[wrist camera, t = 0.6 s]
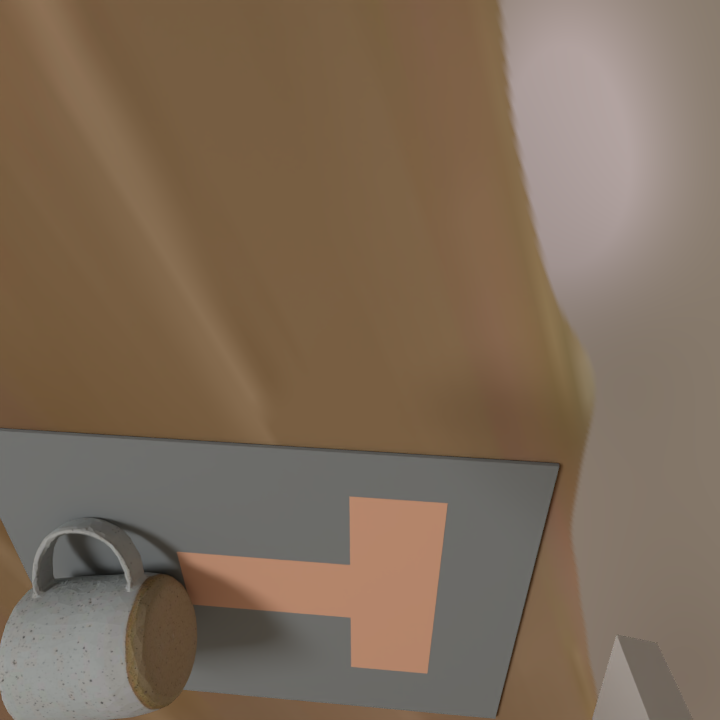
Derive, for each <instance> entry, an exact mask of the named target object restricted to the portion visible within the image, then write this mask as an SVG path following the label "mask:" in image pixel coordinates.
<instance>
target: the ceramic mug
mask: <svg viewBox="0 0 720 720" xmlns="http://www.w3.org/2000/svg"><path fill="white" fill-rule="evenodd" d="M69 533H72V534H74V533H75V534H83V535H88V536H91V537H94V538H96V539H98V540H100V541H101V542H104V543H105V544H106V545H108V546H109V547H110V548H111V549H112V551H113V552H114V553H115V555H116V556H117V557H118V559H119V562H120V564H121V566H122V568H123V570H124V572H125V574H119V575H97V576H80V577H67V578H54V575H53V552H54V547H55V544H56V542H57V540H58V538H59V537H60V536H62V535H66V534H69ZM32 584H33V588H32V589H30V590H29V591H28V592H27V593H26V594H25V595H24V596H23V597H22V599H21V600H20V601H19V602H18V604H17V605H16V606H15V608H14V609H13V611H12V613H11V615H10V617H9V619H8V621H7V623H6V626H5V630H4V633H3V636H2V640H1V644H0V691H1V696H2V700H3V702H4V705H5V707H6V709H7V711H8V712H9V714H10V715H11V716H12V718H13V719H14V720H109V719H118V718H129V717H135V716H139V715H143V714H147V713H150V712H153V711H156V710H158V709H161V708H163V707H165V706H168V705H169V704H170V703H172V702H173V701H174V700H175V699H176V698H177V697H178V696H179V694H180V693H181V692H182V690H183V689H184V687H185V685H186V683H187V681H188V679H189V676H190V674H191V671H192V668H193V664H194V660H195V655H196V648H197V623H196V616H195V610H194V607H193V604H192V601H191V599H190V596H189V594H188V592H187V591H186V589H185V588H184V587H183V585H182V584H181V583H180V582H178V581H177V580H176V579H175V578H174V577H172V576H169V575H166V574H159V573H150V572H144V570H143V564H142V560H141V556H140V554H139V552H138V550H137V549H136V548H135V545H134V544H133V542H132V541H131V538H130V537H129V536H128V535H127V534H126V533H125V532H124V531H123V530H121V529H120V528H119V527H118V526H116V525H114V524H112V523H109V522H107V521H105V520H102V519H97V518H80V519H75V520H71V521H68V522H67V523H65V524H63V525H61V526H60V527H58V528H57V529H55V530H54V531H52V532H51V533H50V534H49V535H48V536H46V537H45V538H44V539H43V541H42V542H41V544H40V546H39V548H38V550H37V552H36V555H35V558H34V562H33V569H32Z"/></svg>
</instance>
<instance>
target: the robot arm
mask: <svg viewBox="0 0 720 720" xmlns="http://www.w3.org/2000/svg"><path fill="white" fill-rule="evenodd" d="M592 720H693V718H692V716H691V714H690V712H689V709H688V707H687V705H686V703H685V701H684V699H683V697H682V695H681V692H680V690H679V688H678V686H677V684H676V682H675V680H674V678H673V676H672V673H671V671H670V669H669V667H668V665H667V663H666V661H665V659H664V657H663V654H662V652H661V650H660V648H659V646H658V644H657V643H655V642H651V641H646V640H641V639H636V638H631V637H626V636H621V635H616V638H615V642H614V645H613V649H612V652H611V656H610V659H609V662H608V666H607V669H606V673H605V676H604V680H603V683H602V687H601V691H600V694H599V697H598V701H597V704H596V708H595V711H594V714H593V718H592Z"/></svg>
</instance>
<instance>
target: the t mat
mask: <svg viewBox="0 0 720 720" xmlns="http://www.w3.org/2000/svg"><path fill="white" fill-rule="evenodd" d="M558 470H559V463H544V462H528V461H512V460H496V459H480V458H464V457H448V456H433V455H417V454H401V453H385V452H369V451H353V450H337V449H322V448H306V447H290V446H274V445H258V444H242V443H226V442H210V441H195V440H179V439H163V438H147V437H131V436H115V435H99V434H84V433H68V432H52V431H36V430H20V429H4V428H0V518H1V520H2V522H3V524H4V526H5V528H6V530H7V533H8V535H9V537H10V539H11V541H12V543H13V545H14V547H15V549H16V551H17V553H18V555H19V558H20V560H21V562H22V564H23V566H24V568H25V570H26V572H27V574H28V576H29V578H30V580H31V582H32V569H33V562H34V558H35V555H36V552H37V550H38V548H39V546H40V544H41V542H42V541H43V539H44V538H45V537H46V536H48V535H49V534H50V533H51V532H52V531H54V530H55V529H57V528H58V527H60V526H61V525H63V524H65V523H67V522H68V521H71V520H75V519H80V518H97V519H102V520H105V521H107V522H109V523H112V524H114V525H116V526H118V527H119V528H120V529H121V530H123V531H124V532H125V533H126V534H127V535H128V536H129V537H130V538H131V541H132V542H133V544H134V545H135V548H136V549H137V550H138V552H139V554H140V556H141V560H142V564H143V570H144V572H150V573H159V574H166V575H169V576H172V577H174V578H175V579H176V580H177V581H178V582H180V583H181V584H182V585H183V587H184V588H185V589H186V591H187V592H188V594H189V596H190V599H191V601H192V604H193V607H194V610H195V616H196V623H197V648H196V655H195V660H194V664H193V668H192V671H191V674H190V676H189V679H188V681H187V683H186V685H185V687H184V689H183V690H193V691H204V692H215V693H225V694H236V695H247V696H258V697H268V698H279V699H290V700H301V701H311V702H322V703H333V704H344V705H354V706H365V707H376V708H387V709H397V710H408V711H419V712H430V713H440V714H451V715H462V716H473V717H483V718H494V719H495V717H496V714H497V710H498V706H499V702H500V698H501V694H502V690H503V686H504V682H505V678H506V674H507V670H508V666H509V662H510V658H511V655H512V651H513V647H514V643H515V639H516V635H517V631H518V627H519V623H520V619H521V615H522V611H523V607H524V603H525V599H526V596H527V592H528V588H529V584H530V580H531V576H532V572H533V568H534V564H535V560H536V556H537V552H538V548H539V544H540V540H541V537H542V533H543V529H544V525H545V521H546V517H547V513H548V509H549V505H550V501H551V497H552V493H553V489H554V485H555V481H556V478H557V474H558ZM119 574H125V572H124V570H123V568H122V566H121V564H120V562H119V559H118V557H117V556H116V555H115V553H114V552H113V551H112V549H111V548H110V547H109V546H108V545H106V544H105V543H104V542H101V541H100V540H98V539H96V538H94V537H91V536H88V535H83V534H75V533H74V534H72V533H69V534H66V535H62V536H60V537H59V538H58V540H57V542H56V544H55V547H54V552H53V575H54V578H67V577H80V576H97V575H119ZM32 585H33V584H32Z"/></svg>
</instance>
